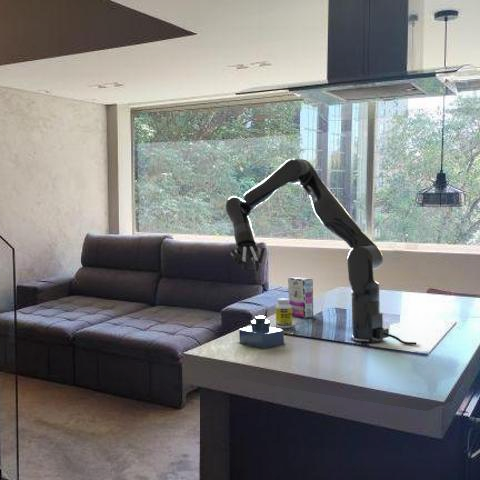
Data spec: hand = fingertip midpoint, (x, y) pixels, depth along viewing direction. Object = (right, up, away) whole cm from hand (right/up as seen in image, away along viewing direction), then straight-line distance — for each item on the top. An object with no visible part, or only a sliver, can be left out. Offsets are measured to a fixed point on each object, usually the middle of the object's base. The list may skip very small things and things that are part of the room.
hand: (251, 270), depth 224 cm
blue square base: (+1, -25, -14) cm, 29 cm away
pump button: (+1, -18, -11) cm, 21 cm away
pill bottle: (+15, -23, +11) cm, 29 cm away
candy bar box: (+26, -21, +30) cm, 45 cm away
